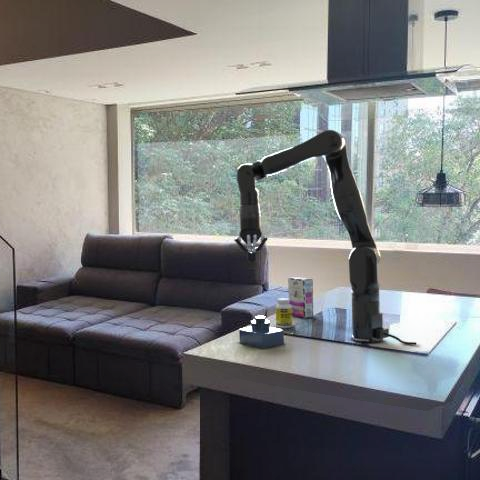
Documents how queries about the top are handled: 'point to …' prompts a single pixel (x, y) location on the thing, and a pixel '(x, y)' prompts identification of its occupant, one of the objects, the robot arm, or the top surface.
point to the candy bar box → (301, 296)
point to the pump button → (260, 319)
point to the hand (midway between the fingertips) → (251, 262)
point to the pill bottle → (283, 313)
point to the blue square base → (261, 335)
